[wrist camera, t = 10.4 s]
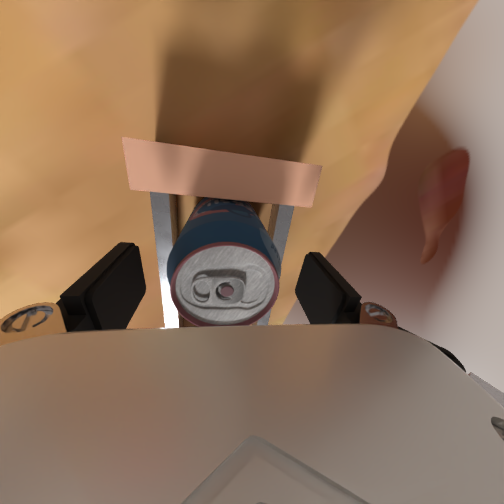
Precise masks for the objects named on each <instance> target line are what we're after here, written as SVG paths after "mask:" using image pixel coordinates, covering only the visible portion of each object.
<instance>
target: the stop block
mask: <svg viewBox="0 0 504 504" xmlns="http://www.w3.org/2000/svg"><path fill="white" fill-rule="evenodd" d="M122 142H123V149H124V155H125V161H126V167H127V173H128V180H129V186H130V190H139V191H150V192H160V193H170V194H180V195H190V196H200V197H210V198H220V199H231V200H241V201H251V202H261V203H271V204H281V205H291V206H301V207H312V204H313V200H314V196H315V192H316V189H317V185H318V181H319V177H320V174H321V170H322V166H320V165H313V164H306V163H299V162H292V161H285V160H279V159H272V158H265V157H258V156H251V155H244V154H237V153H230V152H223V151H216V150H209V149H203V148H196V147H189V146H182V145H175V144H168V143H161V142H154V141H147V140H140V139H133V138H127V137H122Z"/></svg>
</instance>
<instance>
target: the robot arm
mask: <svg viewBox="0 0 504 504" xmlns="http://www.w3.org/2000/svg"><path fill="white" fill-rule="evenodd" d="M145 292H146V284H145V279H144V273H143V268H142V262H141V257H140V251H139V247H138V246H135V244H134V243H125V242H120V243H118V244H117V245H116V246H115V247H114V248H113V249H112V250H111V251H110V252H108V253H107V254H106V255H105V256H104V257H103V258H102V259H101V260H99V261H98V262H97V263H96V264H95V265H94V266H93V267H92V268H90V269H89V270H88V271H87V272H86V273H85V274H84V275H83V276H81V277H80V278H79V279H78V280H77V281H76V282H75V283H74V284H72V285H71V286H70V287H69V288H68V289H67V290H66V291H65V292H64V293H62V294H61V295H60V298H61V299H60V300H59V301H58V302H57V303H56V304H54V303H48V302H44V303H36V304H32V305H28V306H25V307H23V308H20V309H17V310H15V311H13V312H11V313H9V314H8V315H6V316H5V317H3V318H2V319H0V504H504V393H502V392H501V391H499V390H498V389H496V388H495V387H493V386H491V385H490V384H488V383H487V382H485V381H484V380H482V379H481V378H479V377H478V376H476V375H474V374H473V373H471V372H470V373H469V374H466V370H465V368H464V366H463V365H462V364H461V363H460V361H459V360H458V359H457V358H456V357H455V356H454V355H453V354H452V353H451V352H449V351H448V350H446V349H444V348H442V347H439V346H438V345H435V344H433V343H431V342H429V341H427V340H425V339H423V338H421V337H419V336H417V335H415V334H413V333H410V332H408V331H407V330H405V329H402V328H400V327H398V325H397V320H396V317H395V316H394V315H393V314H392V313H391V312H390V311H389V310H388V309H386V308H385V307H383V306H381V305H379V304H376V303H372V302H364V303H363V304H361V303H360V302H359V301H360V300H361V298H362V297H361V296H360V295H359V294H358V293H357V292H356V291H355V289H354V288H353V287H352V286H351V285H350V284H349V283H348V282H347V281H346V280H345V279H344V278H343V277H342V276H341V275H340V274H339V272H338V271H337V270H336V269H335V268H334V267H333V266H332V265H331V264H330V263H329V262H328V261H327V260H326V259H325V258H324V257H323V255H322V254H321V253H319V252H309V253H308V254H306V256H305V259H304V262H303V265H302V269H301V272H300V275H299V278H298V282H297V285H296V288H295V293H296V296H297V298H298V300H299V301H300V304H301V306H302V308H303V310H304V312H305V314H306V316H307V318H308V320H309V322H310V324H296V325H248V326H209V327H175V328H142V329H126V327H127V325H128V323H129V322H130V320H131V318H132V316H133V314H134V313H135V311H136V309H137V307H138V305H139V303H140V302H141V300H142V298H143V296H144V294H145Z"/></svg>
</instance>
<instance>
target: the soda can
mask: <svg viewBox="0 0 504 504" xmlns="http://www.w3.org/2000/svg"><path fill="white" fill-rule="evenodd" d="M280 275H281V260H280V256H279V253H278V250H277V248H276V246H275V245H274V243H273V241H272V239H271V238H270V236H269V234H268V233H267V231H266V229H265V228H264V226H263V224H262V222H261V221H260V219H259V217H258V216H257V214H256V212H255V211H254V209H253V207H252V206H251V205H250V204H249V202H247V201H241V200H231V199H220V198H210V197H205V198H204V199H202V200H201V201H200V202H199V203H198V204H197V205H196V207H195V208H194V210H193V212H192V214H191V215H190V217H189V219H188V221H187V223H186V224H185V226H184V228H183V230H182V232H181V233H180V235H179V237H178V239H177V241H176V242H175V244H174V246H173V248H172V250H171V252H170V254H169V257H168V261H167V278H168V282H169V285H170V295H171V299H172V302H173V304H174V306H175V308H176V310H177V311H178V312H179V313H180V315H181V316H182V317H184V318H185V319H186V320H187V321H189V322H190V323H192V324H194V325H196V326H199V327H209V326H248V325H251V324H253V323H255V322H256V321H258V320H259V319H261V318H262V317H263V316H265V315H266V314H267V313H268V312H269V310H270V309H271V308H272V307H273V305H274V303H275V301H276V299H277V296H278V293H279V279H280Z"/></svg>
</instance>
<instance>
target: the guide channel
mask: <svg viewBox="0 0 504 504" xmlns="http://www.w3.org/2000/svg"><path fill="white" fill-rule="evenodd" d="M150 197H151V206H152V214H153V223H154V231H155V240H156V249H157V257H158V266H159V274H160V283H161V292H162V300H163V309H164V317H165V326H166V328H175V327H183V317H182V316H181V315H180V313H179V312H178V311H177V310H176V308H175V306H174V304H173V302H172V299H171V295H170V285H169V282H168V278H167V261H168V257H169V254H170V252H171V250H172V248H173V246H174V244H175V242H176V241H177V239H178V227H177V209H176V194H170V193H160V192H150ZM293 210H294V206H291V205H281V204H272V210H271V216H270V222H269V227H268V234H269V236H270V238H271V239H272V241H273V243H274V245H275V246H276V248H277V250H278V253H279V256H280V260H281V263H282V259H283V254H284V250H285V245H286V241H287V236H288V232H289V228H290V223H291V219H292V214H293ZM270 312H271V309H270V310H269V312H268V313H267V314H266V315H265V316H263V317H262V318H261V319H259V320H258V321H256V322H255V323H253V324H252V325H268V321H269V317H270Z"/></svg>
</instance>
